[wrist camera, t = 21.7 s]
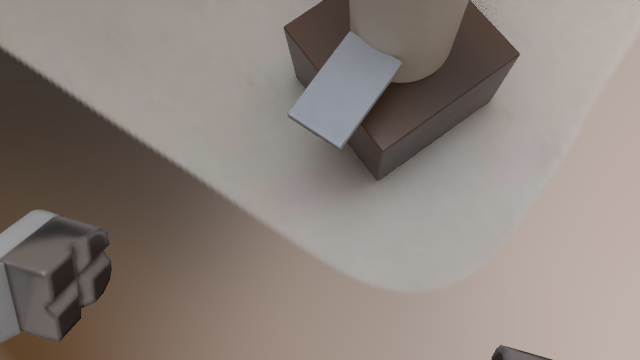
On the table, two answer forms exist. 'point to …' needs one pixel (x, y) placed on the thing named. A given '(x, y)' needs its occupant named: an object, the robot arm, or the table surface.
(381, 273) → the table surface
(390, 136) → the brown toy block
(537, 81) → the table surface
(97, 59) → the table surface
